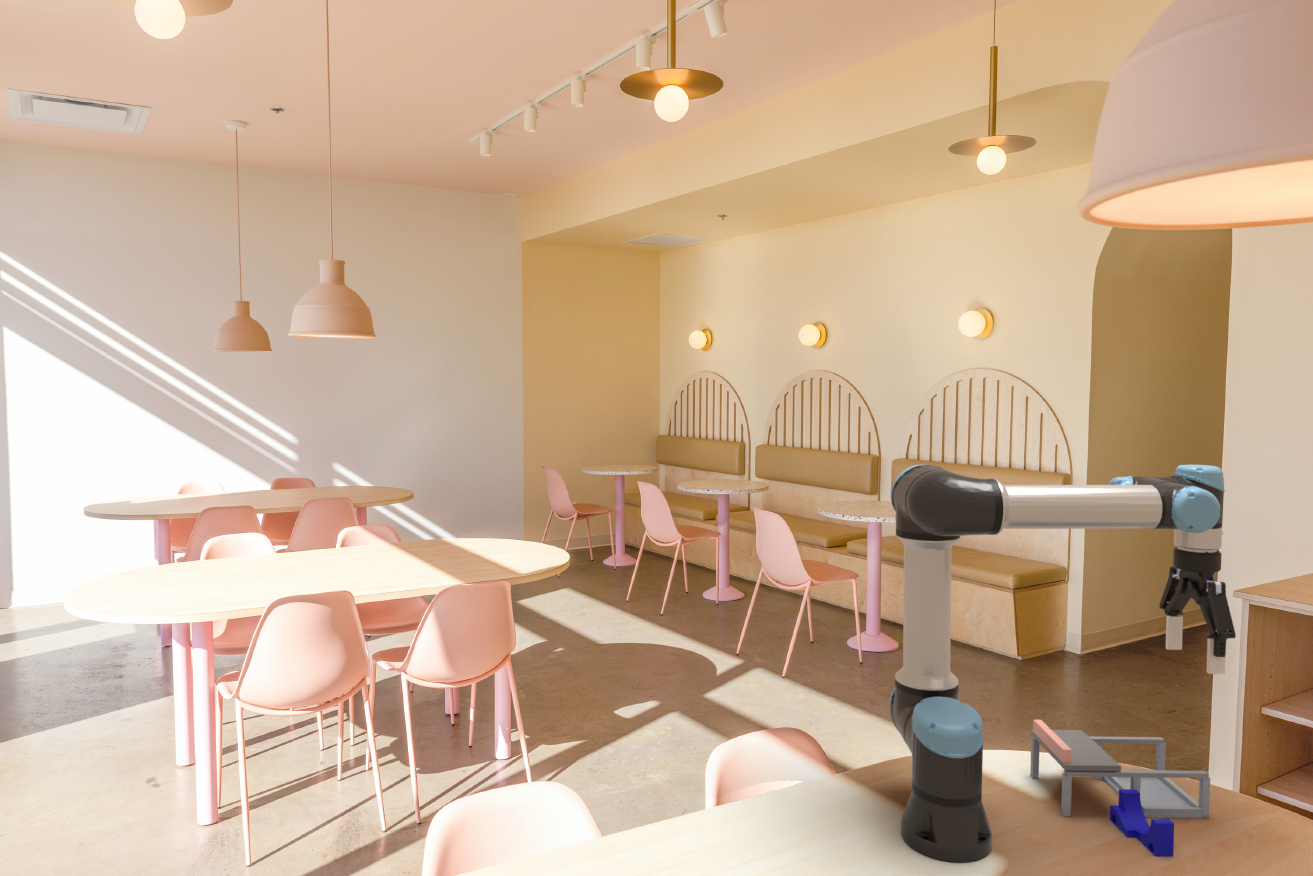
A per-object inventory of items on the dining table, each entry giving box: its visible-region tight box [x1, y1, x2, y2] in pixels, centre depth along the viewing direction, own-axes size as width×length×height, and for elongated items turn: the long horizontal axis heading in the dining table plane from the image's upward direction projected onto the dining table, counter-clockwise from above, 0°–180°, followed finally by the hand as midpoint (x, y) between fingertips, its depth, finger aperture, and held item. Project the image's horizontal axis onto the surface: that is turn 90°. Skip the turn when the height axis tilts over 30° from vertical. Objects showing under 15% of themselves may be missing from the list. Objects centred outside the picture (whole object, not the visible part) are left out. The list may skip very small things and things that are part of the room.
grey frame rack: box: [1029, 735, 1211, 819], centre depth 164 cm, size 26×16×8 cm, turn 87°
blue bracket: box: [1109, 789, 1175, 858], centre depth 149 cm, size 12×4×6 cm, turn 179°
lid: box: [1030, 719, 1122, 771], centre depth 164 cm, size 10×16×4 cm, turn 177°
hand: (1193, 660), depth 159 cm, fingers open, 13 cm apart
